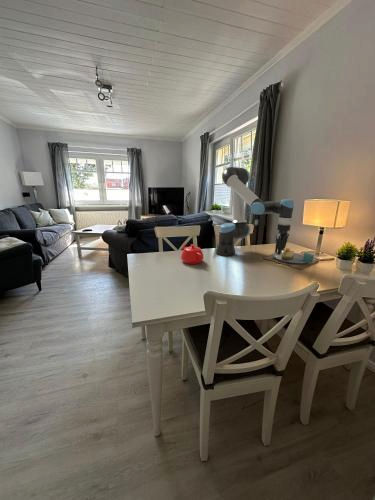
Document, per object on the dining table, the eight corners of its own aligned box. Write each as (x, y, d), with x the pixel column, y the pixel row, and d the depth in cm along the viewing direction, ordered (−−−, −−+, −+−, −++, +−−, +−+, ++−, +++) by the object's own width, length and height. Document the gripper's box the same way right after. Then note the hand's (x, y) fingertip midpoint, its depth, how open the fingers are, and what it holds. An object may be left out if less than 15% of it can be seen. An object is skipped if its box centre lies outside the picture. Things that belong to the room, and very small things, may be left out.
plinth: (261, 258, 156) (262, 257, 156) (281, 252, 173) (281, 251, 173) (300, 270, 135) (301, 268, 135) (318, 261, 152) (318, 260, 152)
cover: (276, 257, 150) (278, 248, 148) (283, 255, 156) (284, 246, 154) (289, 261, 144) (290, 251, 142) (295, 258, 149) (297, 249, 147)
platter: (266, 257, 156) (267, 248, 154) (282, 251, 170) (284, 243, 168) (304, 268, 136) (305, 258, 134) (319, 260, 150) (321, 252, 148)
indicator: (273, 252, 168) (275, 238, 165) (275, 252, 169) (277, 238, 166) (276, 253, 166) (278, 239, 163) (277, 252, 167) (280, 238, 164)
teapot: (211, 265, 141) (212, 247, 138) (191, 269, 133) (191, 250, 130) (191, 254, 161) (191, 239, 158) (173, 257, 154) (173, 241, 150)
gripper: (284, 225, 130) (279, 262, 136) (295, 224, 138) (289, 258, 144) (273, 224, 135) (268, 259, 142) (283, 222, 143) (278, 255, 150)
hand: (279, 258), depth 143 cm, fingers closed
